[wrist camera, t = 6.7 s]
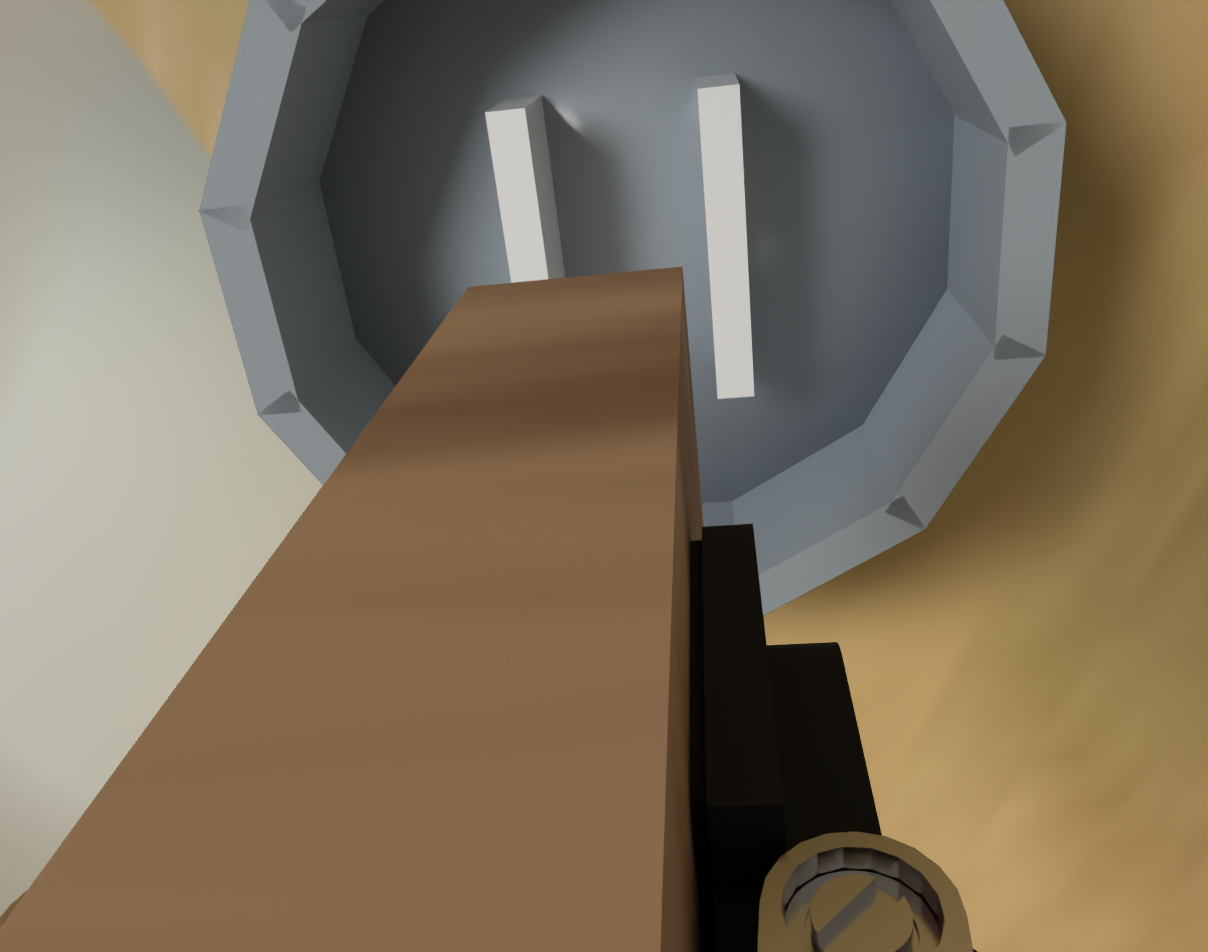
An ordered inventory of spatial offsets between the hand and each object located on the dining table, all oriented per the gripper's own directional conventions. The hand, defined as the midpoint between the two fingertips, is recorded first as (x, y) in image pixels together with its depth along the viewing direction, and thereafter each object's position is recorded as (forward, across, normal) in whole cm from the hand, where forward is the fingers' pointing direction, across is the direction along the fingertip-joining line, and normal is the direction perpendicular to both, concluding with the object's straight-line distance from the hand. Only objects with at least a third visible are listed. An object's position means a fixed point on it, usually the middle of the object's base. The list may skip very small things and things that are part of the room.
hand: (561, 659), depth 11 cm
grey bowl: (+21, 0, 0) cm, 21 cm away
